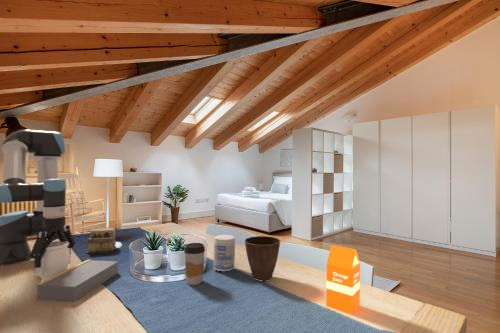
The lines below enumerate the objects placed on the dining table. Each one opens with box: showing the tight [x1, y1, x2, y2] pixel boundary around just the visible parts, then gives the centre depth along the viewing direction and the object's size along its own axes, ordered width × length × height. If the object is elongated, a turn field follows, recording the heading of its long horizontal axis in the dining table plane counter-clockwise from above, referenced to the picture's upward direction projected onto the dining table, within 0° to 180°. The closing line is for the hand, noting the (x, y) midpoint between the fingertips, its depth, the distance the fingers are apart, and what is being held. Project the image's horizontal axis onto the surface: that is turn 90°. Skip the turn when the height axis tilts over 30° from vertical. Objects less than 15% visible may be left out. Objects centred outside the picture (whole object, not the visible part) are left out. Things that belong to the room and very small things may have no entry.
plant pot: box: [244, 235, 281, 282], centre depth 119 cm, size 15×15×16 cm
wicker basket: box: [84, 226, 117, 256], centre depth 155 cm, size 15×14×11 cm
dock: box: [37, 258, 119, 302], centre depth 110 cm, size 26×14×5 cm, turn 174°
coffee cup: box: [183, 242, 206, 286], centre depth 114 cm, size 8×8×15 cm
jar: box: [40, 240, 69, 282], centre depth 114 cm, size 11×10×15 cm
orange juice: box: [325, 244, 361, 315], centre depth 95 cm, size 8×9×20 cm
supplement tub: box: [213, 234, 236, 272], centre depth 129 cm, size 10×10×15 cm
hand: (54, 269), depth 114 cm, fingers open, 13 cm apart
